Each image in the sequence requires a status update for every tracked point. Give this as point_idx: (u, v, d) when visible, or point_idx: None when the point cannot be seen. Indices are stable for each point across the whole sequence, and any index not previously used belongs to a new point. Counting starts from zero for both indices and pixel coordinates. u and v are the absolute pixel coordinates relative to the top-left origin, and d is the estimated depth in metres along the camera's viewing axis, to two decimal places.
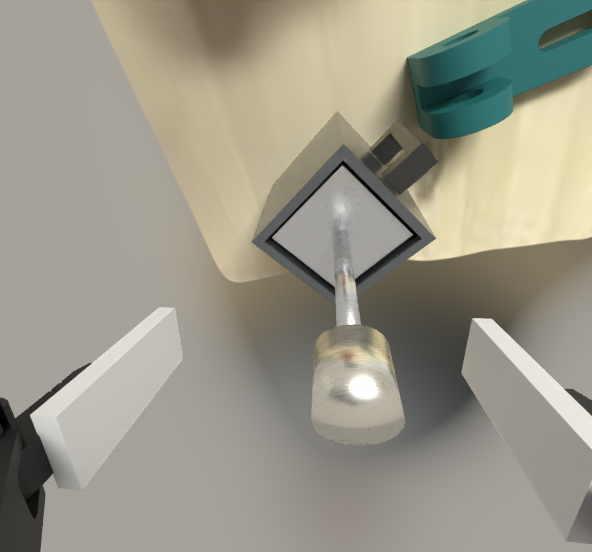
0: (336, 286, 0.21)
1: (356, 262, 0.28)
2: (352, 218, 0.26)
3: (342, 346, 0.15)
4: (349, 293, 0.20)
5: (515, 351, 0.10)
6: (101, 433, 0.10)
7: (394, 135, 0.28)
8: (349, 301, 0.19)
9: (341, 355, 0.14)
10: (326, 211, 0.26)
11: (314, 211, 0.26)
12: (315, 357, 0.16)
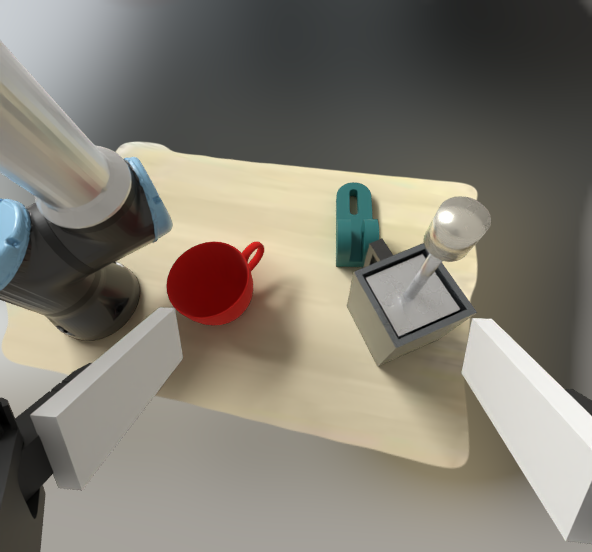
0: (424, 271, 0.33)
1: (436, 290, 0.40)
2: (400, 282, 0.41)
3: (428, 233, 0.27)
4: (426, 259, 0.32)
5: (515, 351, 0.10)
6: (101, 433, 0.10)
7: None
8: (428, 256, 0.32)
9: (430, 230, 0.27)
10: (390, 295, 0.40)
11: (388, 301, 0.40)
12: (437, 250, 0.27)
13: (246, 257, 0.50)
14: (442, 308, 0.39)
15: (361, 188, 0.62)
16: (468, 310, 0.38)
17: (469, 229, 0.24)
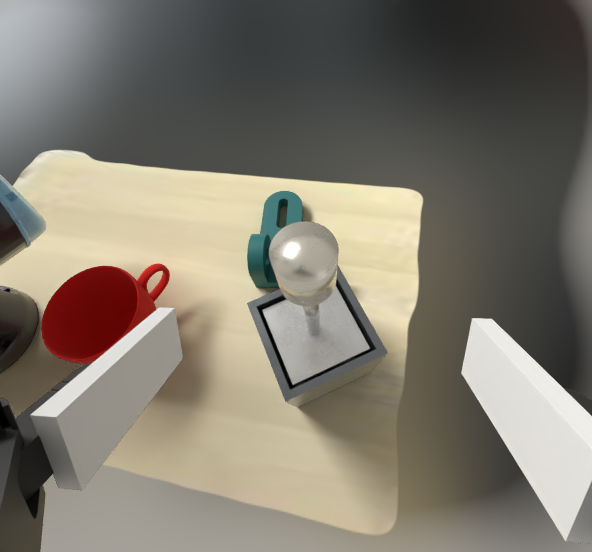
0: (304, 309, 0.26)
1: (343, 324, 0.33)
2: (302, 315, 0.34)
3: None
4: None
5: (515, 351, 0.10)
6: (101, 433, 0.10)
7: None
8: None
9: None
10: (288, 331, 0.33)
11: (285, 340, 0.33)
12: (285, 293, 0.20)
13: (143, 283, 0.43)
14: (348, 347, 0.32)
15: (292, 198, 0.55)
16: (377, 350, 0.31)
17: (306, 269, 0.17)
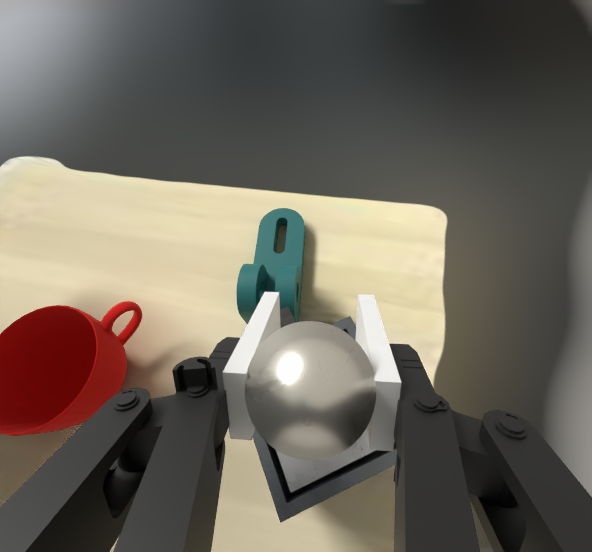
0: None
1: None
2: None
3: None
4: None
5: (373, 317, 0.13)
6: None
7: None
8: None
9: None
10: None
11: None
12: None
13: (107, 326, 0.35)
14: (367, 437, 0.23)
15: (292, 217, 0.46)
16: None
17: (315, 429, 0.09)
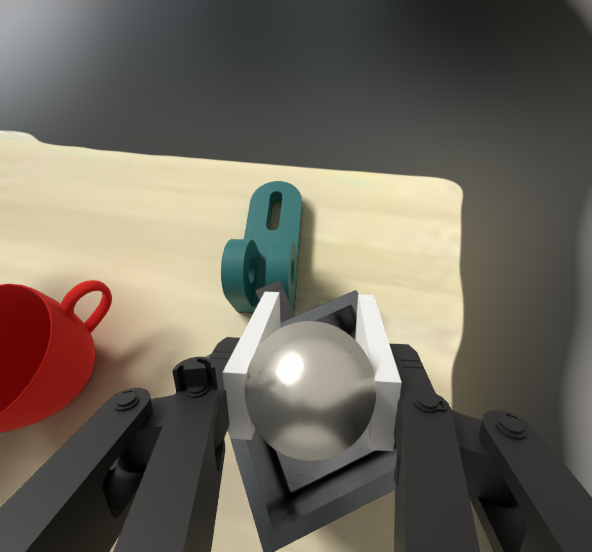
0: None
1: None
2: None
3: None
4: None
5: (373, 317, 0.13)
6: None
7: None
8: None
9: None
10: None
11: None
12: None
13: (67, 309, 0.29)
14: (367, 437, 0.23)
15: (288, 190, 0.41)
16: None
17: (315, 429, 0.09)
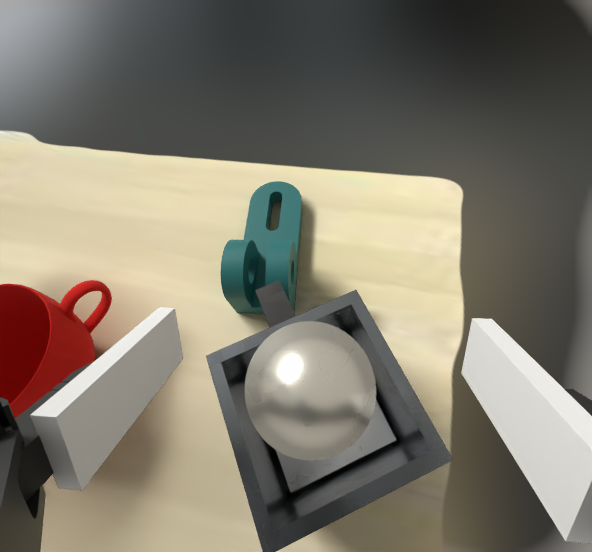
0: None
1: None
2: None
3: None
4: None
5: (515, 351, 0.10)
6: (101, 433, 0.10)
7: None
8: None
9: None
10: None
11: None
12: None
13: (66, 309, 0.29)
14: (367, 437, 0.23)
15: (288, 191, 0.41)
16: (434, 454, 0.17)
17: (315, 429, 0.09)
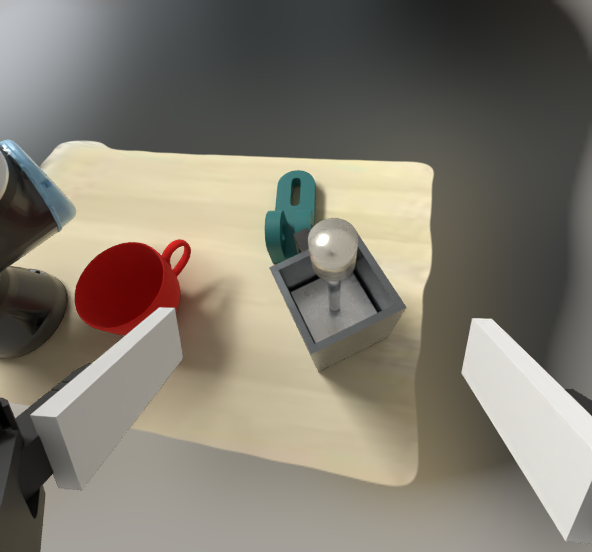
0: (329, 287, 0.33)
1: (358, 301, 0.40)
2: (324, 295, 0.41)
3: None
4: None
5: (515, 351, 0.10)
6: (101, 433, 0.10)
7: None
8: None
9: None
10: (314, 308, 0.40)
11: (311, 315, 0.40)
12: (318, 272, 0.27)
13: (167, 257, 0.45)
14: None
15: (305, 177, 0.56)
16: (396, 305, 0.32)
17: (336, 252, 0.24)
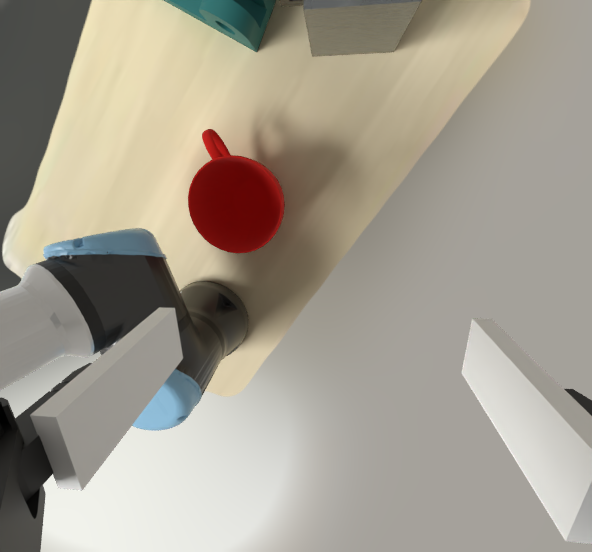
0: None
1: None
2: None
3: None
4: None
5: (515, 351, 0.10)
6: (101, 433, 0.10)
7: None
8: None
9: None
10: None
11: None
12: None
13: (220, 155, 0.41)
14: None
15: None
16: None
17: None
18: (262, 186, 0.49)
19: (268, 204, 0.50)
